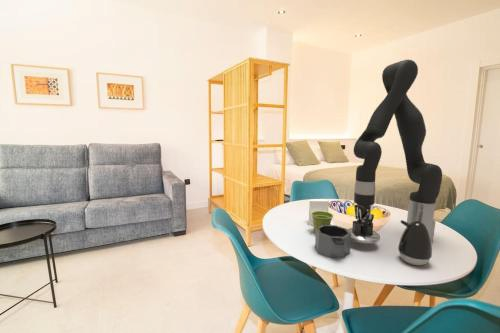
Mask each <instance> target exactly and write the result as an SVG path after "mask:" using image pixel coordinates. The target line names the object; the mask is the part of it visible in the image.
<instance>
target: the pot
mask: <svg viewBox="0 0 500 333" xmlns="http://www.w3.org/2000/svg"><path fill="white" fill-rule="evenodd" d="M347 229H348V228H345V227H343V226H338V225H335V224H334V225H333V224H330V225H329V224H324V225H322V226H320V227H318V228H316V233H315V241H314V248H315V251H316V252H317V254H319V255H320V256H321V255H322V256H323V257H326V258H328V259H345V258H346V257H348V256H349V255H350V254H351V244H352V240H351V233H350V232H349V231H348V230H347Z"/></svg>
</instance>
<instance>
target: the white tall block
mask: <svg viewBox="0 0 500 333" xmlns="http://www.w3.org/2000/svg"><path fill="white" fill-rule="evenodd" d="M329 202H330V201H329V200H328V199H318V198H317V199H309V206H308V224H309V225H310V226H312V227H314V222H313V217H312V212H315V211H324V212H329V205H330V204H329Z"/></svg>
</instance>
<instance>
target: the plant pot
mask: <svg viewBox="0 0 500 333" xmlns="http://www.w3.org/2000/svg"><path fill="white" fill-rule="evenodd" d="M312 217H313V222H314V226H313V231H314V233H315V234H316V228H318V227H320V226H322V225H324V224H329V225H331V222H332V219H333V218H334V215H333V214H332V213H331V212H329V211H328V212H324V211H315V212H312Z"/></svg>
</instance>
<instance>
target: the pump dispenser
mask: <svg viewBox="0 0 500 333" xmlns="http://www.w3.org/2000/svg"><path fill="white" fill-rule="evenodd" d="M400 223H401V224H402V225H404V226H405V229H404V231H403V232H402V234H401V236H400V239H399V243H398V247H397V250H398V252H399V255H400V257H401V259H402V260H403V261H404V262H406V263H408V264H409V265H412V266H424V265H426V264H428V263H429V261H430V259H431V258H432V255H433V247H432V246H433V245H432V243H431V238H430V235H429V232H428V229H427V227H426V226H425V225H424V224H423V223H422V222H419V221H413V222H411V223H410V224H409V223H407V221H405V220H403V219H402V220H400Z"/></svg>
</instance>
